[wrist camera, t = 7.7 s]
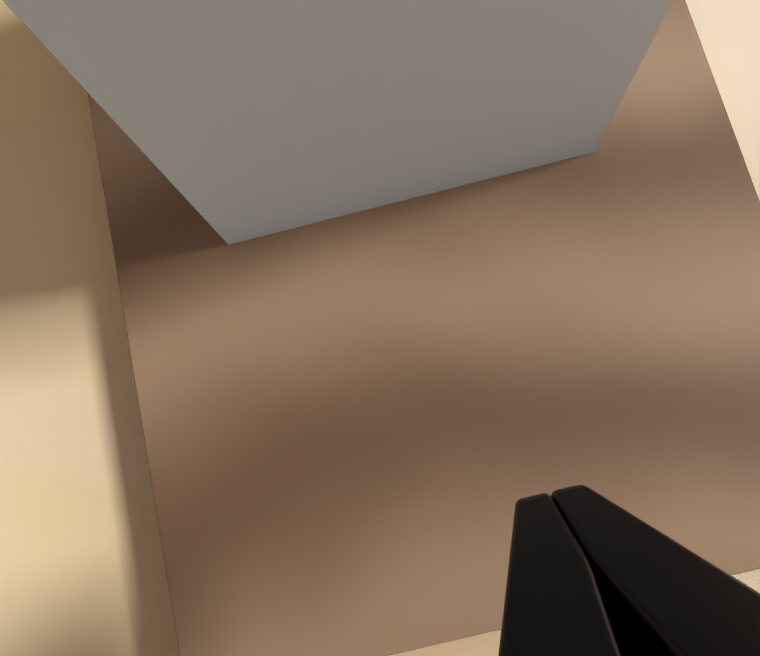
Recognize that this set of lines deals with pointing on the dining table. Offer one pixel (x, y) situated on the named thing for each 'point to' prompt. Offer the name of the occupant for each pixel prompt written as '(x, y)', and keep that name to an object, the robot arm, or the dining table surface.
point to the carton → (346, 93)
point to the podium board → (445, 376)
